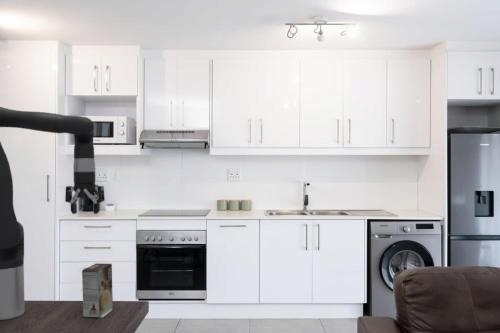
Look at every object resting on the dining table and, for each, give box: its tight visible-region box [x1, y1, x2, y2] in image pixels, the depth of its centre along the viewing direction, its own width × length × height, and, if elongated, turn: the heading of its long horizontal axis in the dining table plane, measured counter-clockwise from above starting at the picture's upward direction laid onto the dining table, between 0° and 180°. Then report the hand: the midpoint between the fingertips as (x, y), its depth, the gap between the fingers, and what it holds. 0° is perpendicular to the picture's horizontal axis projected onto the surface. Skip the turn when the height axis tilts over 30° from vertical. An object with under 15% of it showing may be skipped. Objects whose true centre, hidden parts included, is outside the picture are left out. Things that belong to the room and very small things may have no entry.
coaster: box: [83, 307, 113, 318], centre depth 134 cm, size 7×7×1 cm
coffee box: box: [81, 263, 114, 318], centre depth 135 cm, size 9×6×16 cm
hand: (85, 213), depth 143 cm, fingers open, 8 cm apart
